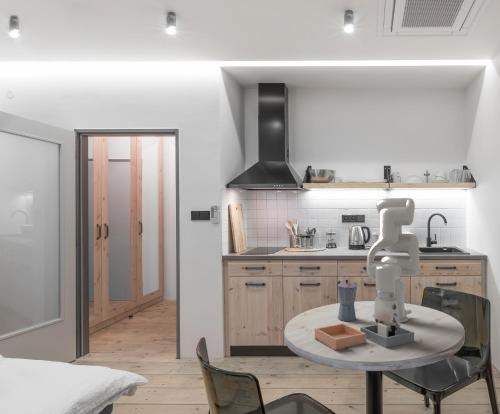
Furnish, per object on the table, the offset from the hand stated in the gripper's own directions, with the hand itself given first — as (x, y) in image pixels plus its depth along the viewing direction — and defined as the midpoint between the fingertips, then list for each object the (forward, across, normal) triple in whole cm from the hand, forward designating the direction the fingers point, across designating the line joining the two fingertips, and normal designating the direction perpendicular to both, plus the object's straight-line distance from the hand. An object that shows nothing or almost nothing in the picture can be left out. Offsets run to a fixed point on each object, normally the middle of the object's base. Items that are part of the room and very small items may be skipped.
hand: (386, 337), depth 155 cm
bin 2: (+1, 0, 0) cm, 1 cm away
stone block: (0, 0, 0) cm, 0 cm away
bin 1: (+1, +8, +18) cm, 20 cm away
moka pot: (+2, +32, -4) cm, 32 cm away
